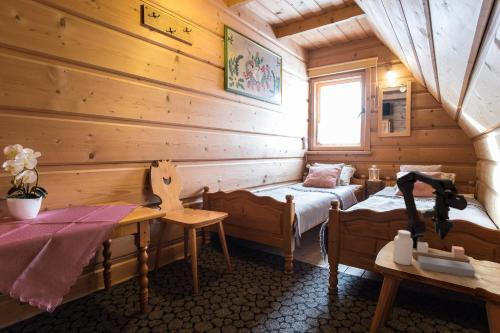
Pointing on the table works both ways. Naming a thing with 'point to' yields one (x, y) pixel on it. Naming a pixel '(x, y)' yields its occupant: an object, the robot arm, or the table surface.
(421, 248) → the block
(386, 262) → the table surface
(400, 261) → the pill bottle
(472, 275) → the block
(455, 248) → the block
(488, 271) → the table surface
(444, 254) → the tan long bar
